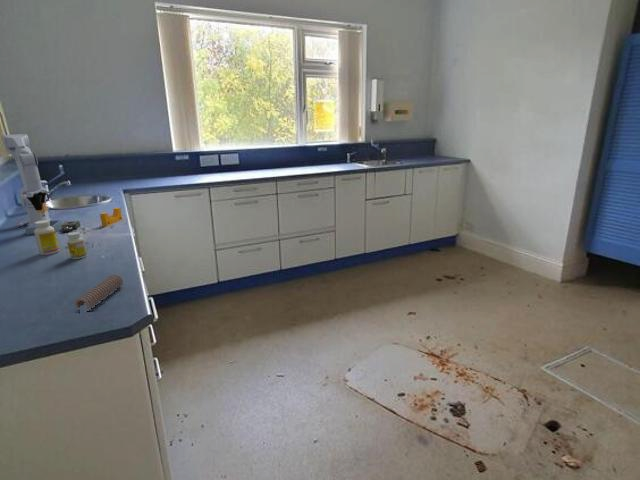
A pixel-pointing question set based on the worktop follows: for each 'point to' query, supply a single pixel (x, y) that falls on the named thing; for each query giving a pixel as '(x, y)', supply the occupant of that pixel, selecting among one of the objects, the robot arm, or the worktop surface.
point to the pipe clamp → (111, 217)
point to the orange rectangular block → (43, 209)
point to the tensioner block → (70, 226)
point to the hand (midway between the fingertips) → (40, 209)
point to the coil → (99, 291)
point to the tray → (55, 224)
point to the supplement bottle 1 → (46, 238)
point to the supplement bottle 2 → (76, 245)
